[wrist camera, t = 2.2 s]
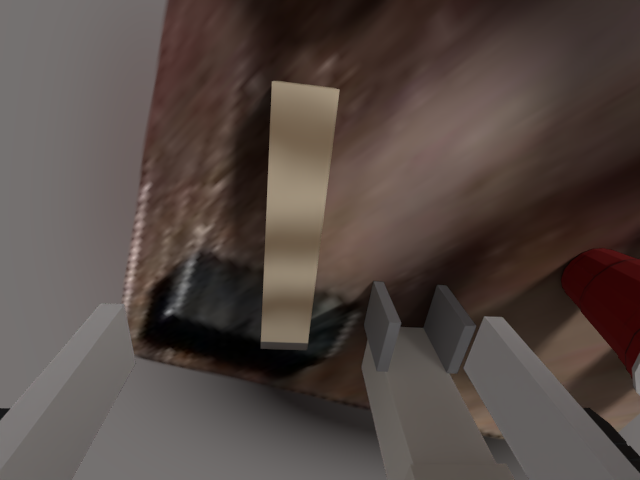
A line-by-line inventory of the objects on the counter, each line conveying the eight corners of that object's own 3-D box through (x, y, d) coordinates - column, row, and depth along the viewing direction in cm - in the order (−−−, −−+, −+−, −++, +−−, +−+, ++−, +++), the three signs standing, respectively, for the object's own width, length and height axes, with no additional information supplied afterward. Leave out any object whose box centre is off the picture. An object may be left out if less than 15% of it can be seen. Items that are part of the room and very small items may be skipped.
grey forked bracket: (373, 281, 32) (432, 432, 18) (446, 285, 33) (554, 433, 19) (354, 369, 37) (388, 538, 23) (417, 371, 38) (486, 535, 24)
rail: (276, 80, 24) (272, 81, 19) (331, 87, 24) (339, 89, 20) (265, 311, 33) (260, 348, 28) (305, 313, 33) (306, 350, 29)
